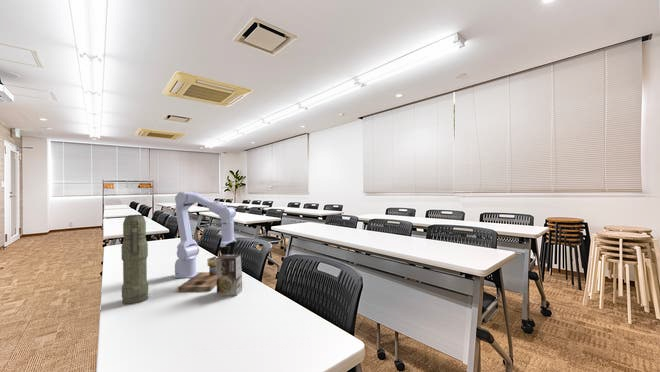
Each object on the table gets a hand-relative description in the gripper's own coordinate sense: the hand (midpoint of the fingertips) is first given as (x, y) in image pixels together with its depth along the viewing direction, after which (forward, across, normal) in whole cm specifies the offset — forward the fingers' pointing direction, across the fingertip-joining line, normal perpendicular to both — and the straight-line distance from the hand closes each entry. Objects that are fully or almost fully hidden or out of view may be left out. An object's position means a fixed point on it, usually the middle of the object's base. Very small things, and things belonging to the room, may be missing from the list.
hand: (228, 258), depth 138 cm
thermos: (+11, -24, +30) cm, 40 cm away
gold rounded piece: (+8, 0, +8) cm, 11 cm away
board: (+10, -6, +10) cm, 15 cm away
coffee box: (+11, -18, -7) cm, 22 cm away
